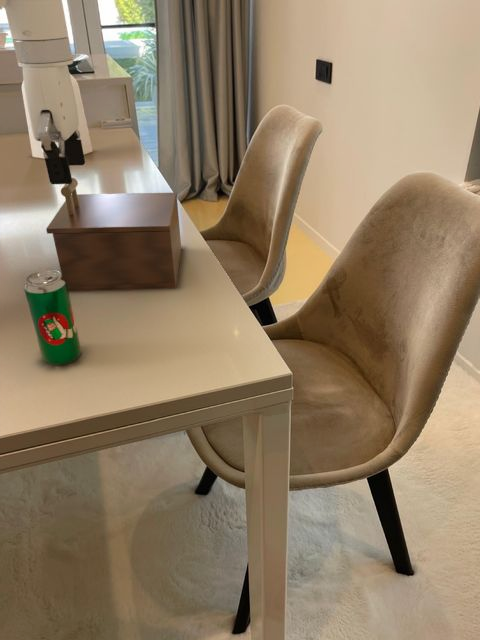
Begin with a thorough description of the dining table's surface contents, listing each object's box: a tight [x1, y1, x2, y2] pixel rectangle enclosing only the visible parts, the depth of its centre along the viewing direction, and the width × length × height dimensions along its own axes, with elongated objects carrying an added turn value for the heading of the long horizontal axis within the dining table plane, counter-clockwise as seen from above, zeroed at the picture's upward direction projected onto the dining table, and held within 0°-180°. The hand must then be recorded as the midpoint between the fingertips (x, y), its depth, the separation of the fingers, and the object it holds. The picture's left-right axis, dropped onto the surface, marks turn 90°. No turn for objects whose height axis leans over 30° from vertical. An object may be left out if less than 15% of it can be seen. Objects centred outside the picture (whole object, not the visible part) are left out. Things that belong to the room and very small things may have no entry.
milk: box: [21, 73, 93, 160], centre depth 154 cm, size 12×12×26 cm
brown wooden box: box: [52, 197, 182, 292], centre depth 96 cm, size 18×16×10 cm
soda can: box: [23, 269, 82, 366], centre depth 73 cm, size 5×5×12 cm
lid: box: [45, 177, 178, 234], centre depth 91 cm, size 19×16×5 cm
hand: (68, 173), depth 89 cm, fingers open, 9 cm apart
